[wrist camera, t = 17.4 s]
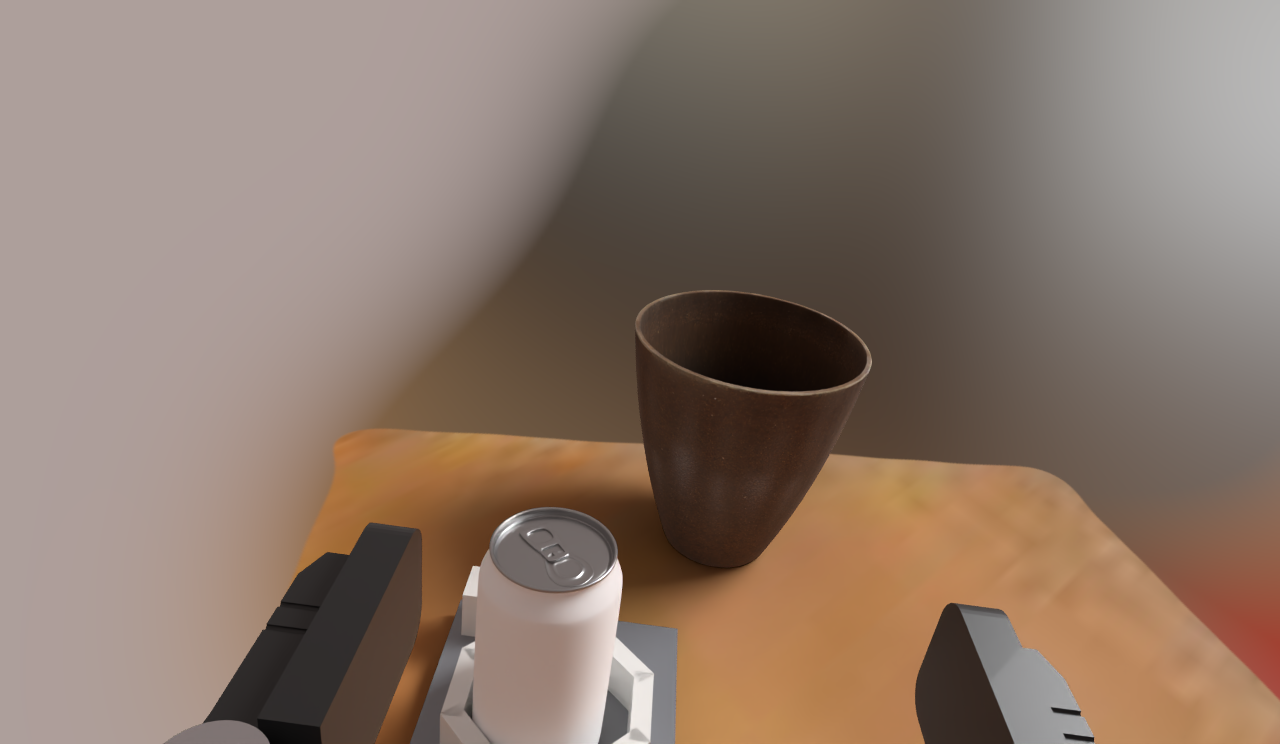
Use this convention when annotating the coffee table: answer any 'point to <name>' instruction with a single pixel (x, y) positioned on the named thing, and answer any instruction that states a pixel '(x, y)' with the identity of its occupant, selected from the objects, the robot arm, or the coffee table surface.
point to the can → (545, 628)
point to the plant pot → (739, 414)
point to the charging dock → (635, 695)
